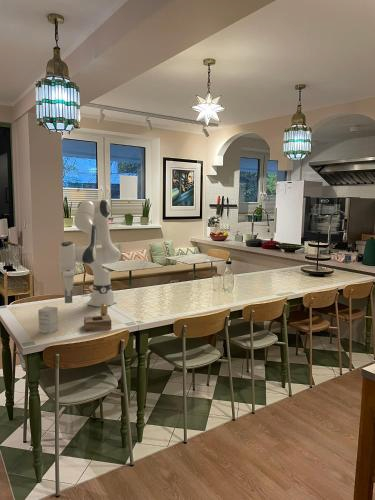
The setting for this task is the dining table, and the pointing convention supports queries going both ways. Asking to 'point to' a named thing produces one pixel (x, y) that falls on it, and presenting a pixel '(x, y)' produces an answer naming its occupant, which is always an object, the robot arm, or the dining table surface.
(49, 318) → the supplement box
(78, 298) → the dining table surface
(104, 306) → the round bit
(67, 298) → the square bit
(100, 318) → the socket block
